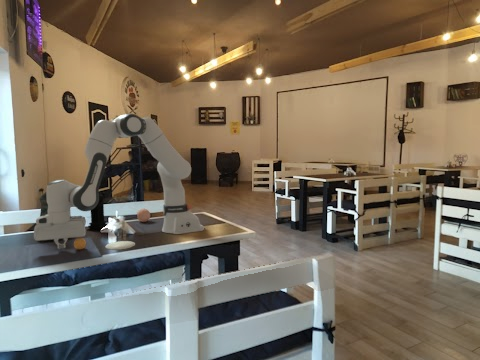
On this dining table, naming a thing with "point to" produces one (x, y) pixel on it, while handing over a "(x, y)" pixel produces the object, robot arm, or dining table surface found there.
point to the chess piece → (97, 215)
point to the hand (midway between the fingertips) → (61, 248)
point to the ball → (79, 243)
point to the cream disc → (120, 245)
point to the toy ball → (143, 215)
